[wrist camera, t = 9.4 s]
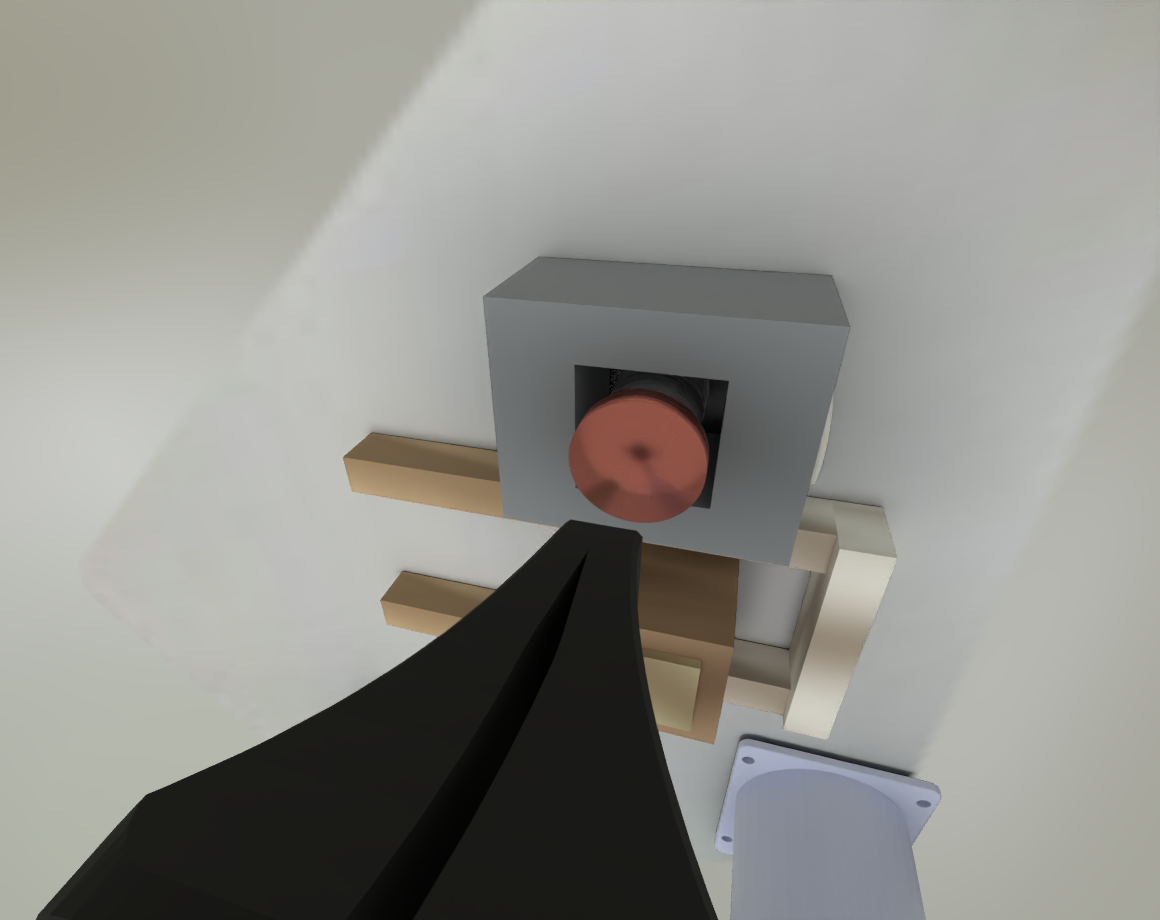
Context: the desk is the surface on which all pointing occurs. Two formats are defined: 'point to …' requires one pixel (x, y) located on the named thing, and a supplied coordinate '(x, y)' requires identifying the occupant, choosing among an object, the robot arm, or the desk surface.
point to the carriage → (687, 636)
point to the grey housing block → (676, 347)
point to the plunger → (643, 447)
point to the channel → (757, 672)
